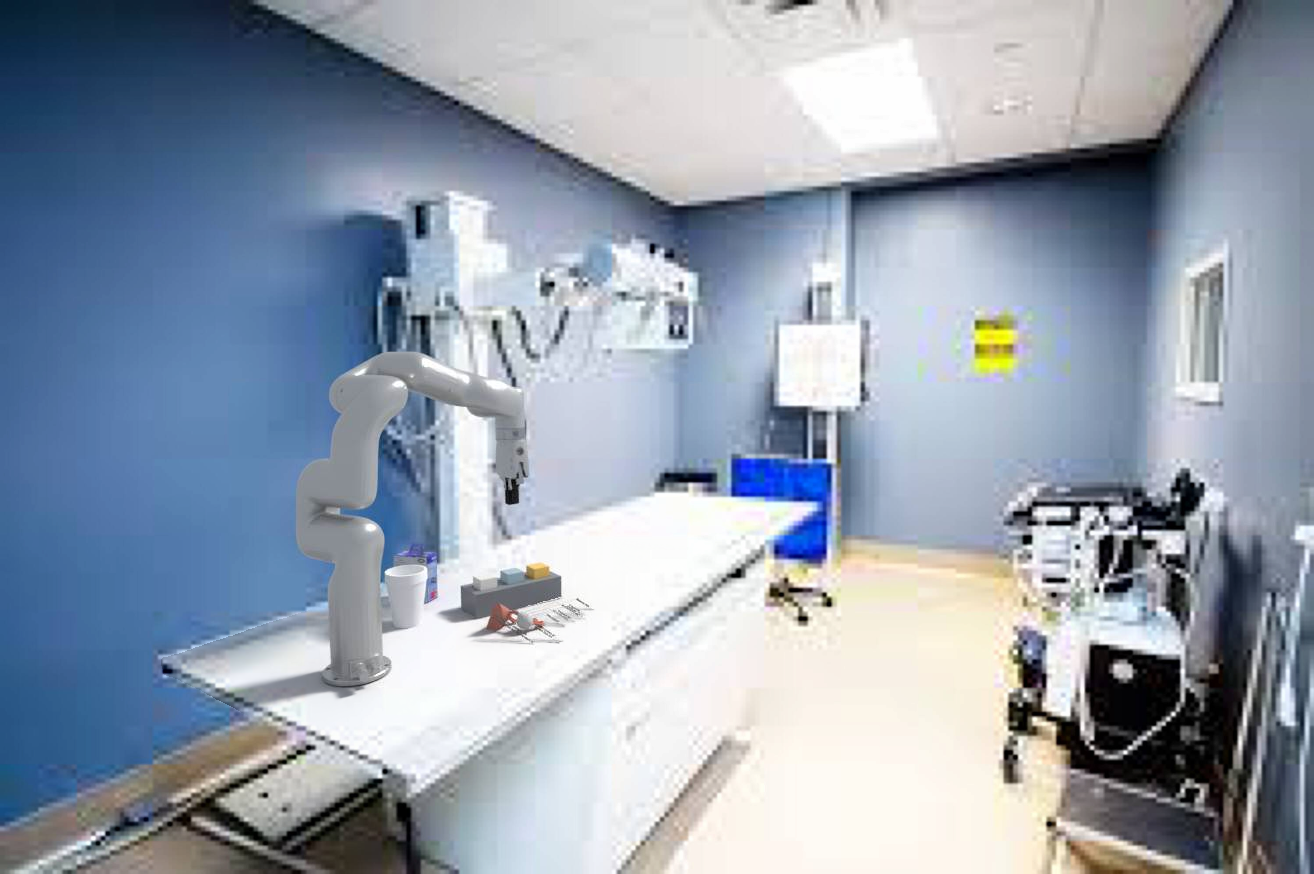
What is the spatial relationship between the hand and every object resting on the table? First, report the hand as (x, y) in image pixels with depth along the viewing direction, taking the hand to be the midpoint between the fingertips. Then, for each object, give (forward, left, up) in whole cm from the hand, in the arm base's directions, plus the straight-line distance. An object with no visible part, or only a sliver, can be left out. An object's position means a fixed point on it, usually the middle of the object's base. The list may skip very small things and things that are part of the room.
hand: (512, 503), depth 178 cm
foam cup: (-2, +29, -25) cm, 38 cm away
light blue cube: (-5, +3, -21) cm, 21 cm away
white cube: (-5, +10, -21) cm, 23 cm away
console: (-5, +3, -25) cm, 26 cm away
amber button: (-5, -5, -21) cm, 22 cm away
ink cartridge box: (+14, +21, -26) cm, 36 cm away
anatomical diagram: (-22, +2, -26) cm, 34 cm away
